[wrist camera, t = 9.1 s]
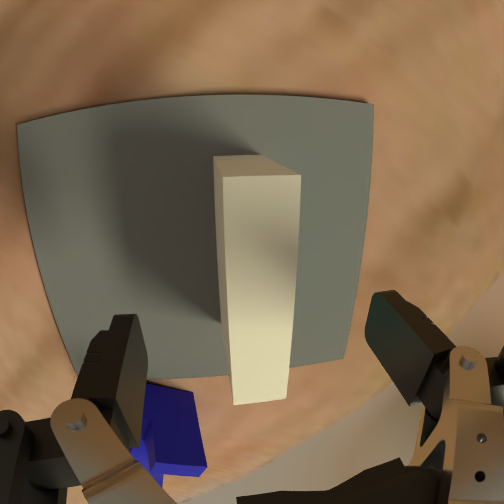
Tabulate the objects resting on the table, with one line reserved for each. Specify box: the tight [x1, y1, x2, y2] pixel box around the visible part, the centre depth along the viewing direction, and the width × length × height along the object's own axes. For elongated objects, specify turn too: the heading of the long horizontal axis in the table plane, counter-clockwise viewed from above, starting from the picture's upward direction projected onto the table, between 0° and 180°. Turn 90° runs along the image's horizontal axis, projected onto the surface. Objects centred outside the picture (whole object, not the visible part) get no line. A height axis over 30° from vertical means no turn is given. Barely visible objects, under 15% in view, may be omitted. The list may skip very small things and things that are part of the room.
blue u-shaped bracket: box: [128, 383, 207, 487], centre depth 18 cm, size 12×4×6 cm, turn 154°
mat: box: [17, 95, 374, 380], centre depth 16 cm, size 16×18×1 cm
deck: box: [213, 155, 301, 405], centre depth 13 cm, size 9×2×6 cm, turn 0°
